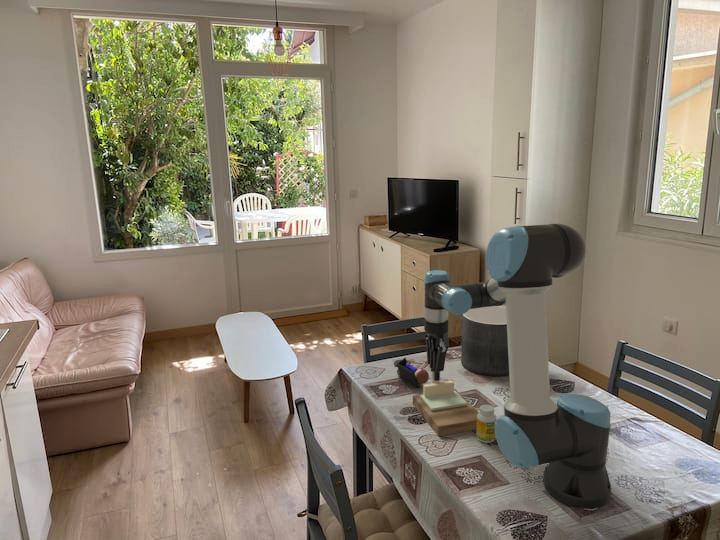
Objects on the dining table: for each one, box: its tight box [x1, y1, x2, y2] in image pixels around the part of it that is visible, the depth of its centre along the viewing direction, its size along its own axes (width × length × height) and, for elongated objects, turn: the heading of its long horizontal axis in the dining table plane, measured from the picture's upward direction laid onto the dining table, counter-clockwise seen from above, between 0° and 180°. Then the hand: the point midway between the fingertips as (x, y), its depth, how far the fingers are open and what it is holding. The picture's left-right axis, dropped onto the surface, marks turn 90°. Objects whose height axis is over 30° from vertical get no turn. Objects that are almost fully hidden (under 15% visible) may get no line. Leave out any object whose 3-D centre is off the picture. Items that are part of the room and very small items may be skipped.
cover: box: [420, 380, 467, 411], centre depth 161 cm, size 9×12×4 cm
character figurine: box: [393, 357, 430, 389], centre depth 181 cm, size 8×7×15 cm
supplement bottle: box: [475, 404, 497, 444], centre depth 145 cm, size 5×5×10 cm
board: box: [412, 388, 480, 437], centre depth 159 cm, size 20×15×3 cm
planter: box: [460, 305, 509, 377], centre depth 193 cm, size 22×22×20 cm
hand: (434, 387), depth 167 cm, fingers closed
